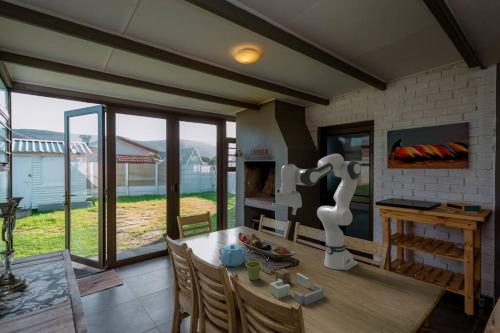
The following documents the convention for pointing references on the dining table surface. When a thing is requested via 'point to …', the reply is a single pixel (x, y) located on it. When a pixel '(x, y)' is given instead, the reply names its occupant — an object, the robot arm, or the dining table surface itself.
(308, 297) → the dock
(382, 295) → the dining table surface
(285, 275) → the block
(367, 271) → the dining table surface
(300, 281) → the pale grey notched piece
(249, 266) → the plant pot
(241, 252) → the decorative pot
